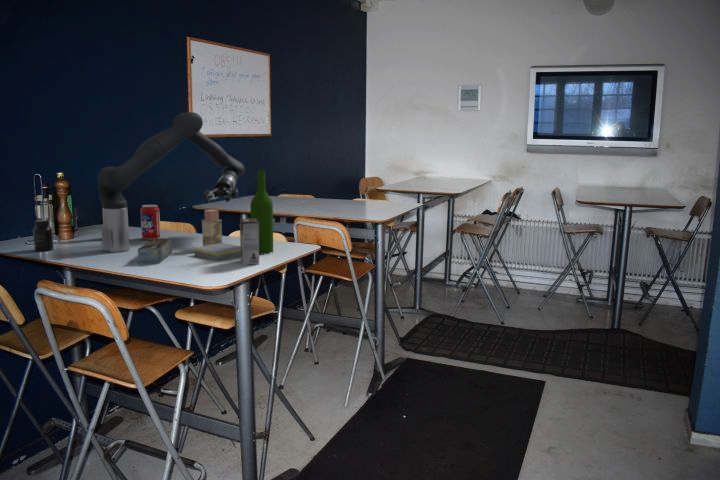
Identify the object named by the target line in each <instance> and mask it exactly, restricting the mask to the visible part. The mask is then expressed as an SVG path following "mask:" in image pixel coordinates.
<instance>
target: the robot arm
mask: <svg viewBox="0 0 720 480" xmlns="http://www.w3.org/2000/svg"><path fill="white" fill-rule="evenodd" d="M203 123H204V121H203V118H202V116H201V115H200V114H198V113H197V112H194V111H193V112H192V111H189V112H188V111H187V112H181V113H179V114H177V115H176V116H175V117H174V120H173V124H174V125H173V126H172V127H170V128H168V129H166V130H163V131H162V132H159V133H157V134H155V135H153V136H151V137H150V138H148V139H147V140H146V141H144V142H143V143H142V144H140V146H138V148H137V149H136V151H135V152H134V154H133V155H132V157H131V158H130V159H129V160H127V161H126V162H124V163H122V164H121V165H119V166H116V167H114V166H107V167H103V168H102V169H101V170H100V171H99V172H98V174H97V175H98V176H97V187H98V188H97V189H98V195H99V197H98V198H99V200H100V202H101V207H102V220H103V221H102V222H103V225H104V227H103V226H102V227H101V241H102V244H101V245H102V251H104V252H109V253H117V252H125V251H126V252H127V251H129V250H130V249H131V247H130V245H131V244H130V234H129V232H130V230H129V215H128V213H129V212H128V201H127V199H125V197H124V196H123V194H122V191H124V190H126V189H127V188H128V187H129V186H130V185H131V184H132V183H133V182H134V181H135V180H137V178H138V177H139V176H141V174H142V173H144V172H145V171H147V170H148V169H150V168H151V167H153V165H155V164H156V163H158V162H159V161H161V160H162V159H163V158H164V157H166V156H167V155H168V154H169V153H170V152H172V151H173V150H174V149H176V148H177V147H178V146H180V144H181V143H183V142H184V141H185V140H187V139H188V140H189V141H190V142H192V143H193V144H194V145H196V146H197V147H198V148H199V149H200V150H201V151H202V152H204V154H206V155H207V157H208V158H210V160H211V161H212V162H214V164H215V165H216V166H218V168H219V167H220V168H222V167H223V168H222V170H221V176H220V178H219V179H218V180H217V182H216V184H215V186H214V189H212V190H210V189H206V190H205V191H204V193H203V194H202V197H203V200H204V202H205V203H206V204H208V205H209V203H210V202H211V201H212V200H216V199H218V198H225V201H226V203H228V202H230V201H231V199H233V198H234V199H237V197H238V193H239V190H238V187H237V186H236V184H237V181H238V178H240V177H242V176H243V175H244V174H245V173H246V168H245V166H244V164H243V163H242V162H241V161H240V160H238V159H235V158H234V157H233V156H231V155H229V154H228V153H227V151H225V149H223V147H222V146H220V145H219V144H218V143H217V142H215V141H214V140H212V139H210V138H209V137H207V136H206V135H204V133H202V131H201V129H202V127H203Z"/></svg>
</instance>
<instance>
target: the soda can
mask: <svg viewBox="0 0 720 480" xmlns="http://www.w3.org/2000/svg"><path fill="white" fill-rule="evenodd" d="M160 218H161V216H160V208H159V207H158V205H157V204H144V205H143V204H142V205H141V208H140V228H141V229H140V230H141V238H142V239H143V240H145V239H146V240H147V241H150V240H152V239H161V221H160V220H161V219H160ZM146 240H145V241H146Z"/></svg>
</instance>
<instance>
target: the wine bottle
mask: <svg viewBox="0 0 720 480" xmlns="http://www.w3.org/2000/svg"><path fill="white" fill-rule="evenodd" d="M250 218H257V220H258V222H259V253H269V254H271V253H270V252H272V253H274V205H273V200H272V199H271V197H270V196H269V194H268V193H267V191H266V172H265V171H257V191H256V193H255V194H254V196H253V198H252V199H251V201H250Z"/></svg>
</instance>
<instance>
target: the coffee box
mask: <svg viewBox="0 0 720 480" xmlns="http://www.w3.org/2000/svg"><path fill="white" fill-rule="evenodd" d="M239 237H240V239H239V241H240V242H239V246H241V256H240V262H241V264H242V266H246V265H245V264H254V265H257V264H256V263H259V264H260V254H259V222H258V220H257V218H251V217H250V218H247V217H246V218H239Z"/></svg>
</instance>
